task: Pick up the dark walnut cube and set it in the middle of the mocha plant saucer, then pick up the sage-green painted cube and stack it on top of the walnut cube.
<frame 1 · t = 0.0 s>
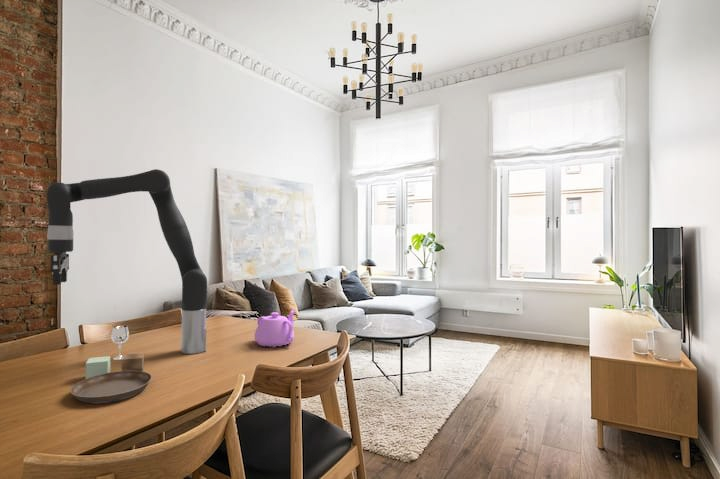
hand: (59, 283, 144), 29 cm above the table, tool pointing down, fingers open, 8 cm apart
plant saucer: (112, 393, 120), on the table
teapot: (278, 343, 178), on the table
wineglass: (119, 358, 152), on the table
walnut block: (132, 373, 136), on the table
green block: (98, 377, 132), on the table
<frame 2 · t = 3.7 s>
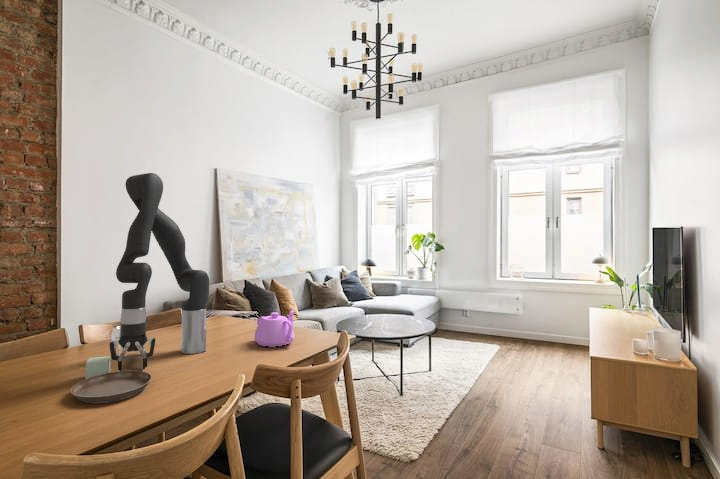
hand: (132, 370, 136), 1 cm above the table, tool pointing down, fingers closed on walnut block, 6 cm apart
walnut block: (132, 373, 136), on the table, touching gripper
everything else where it was.
when the fingers open (5 cm above the table, at t = 9.1 s): walnut block stays where it is, resting on plant saucer.
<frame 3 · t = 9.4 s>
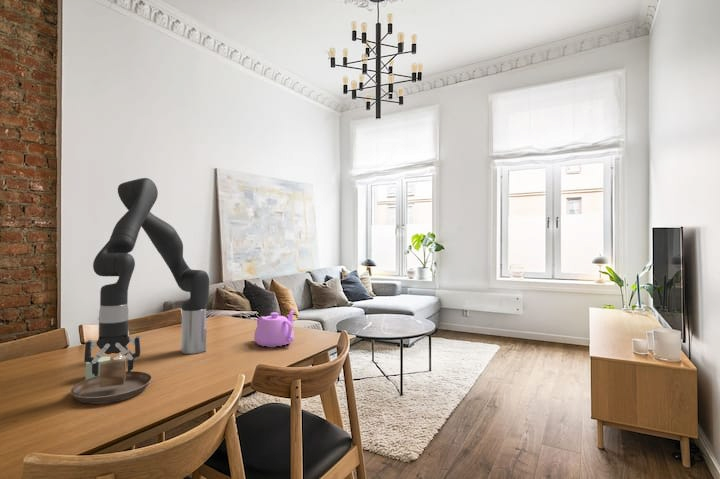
hand: (113, 373, 120), 6 cm above the table, tool pointing down, fingers open, 8 cm apart
plant saucer: (112, 394, 120), on the table, touching walnut block
walnut block: (113, 382, 120), point 3 cm above the table, touching plant saucer
everything else where it was.
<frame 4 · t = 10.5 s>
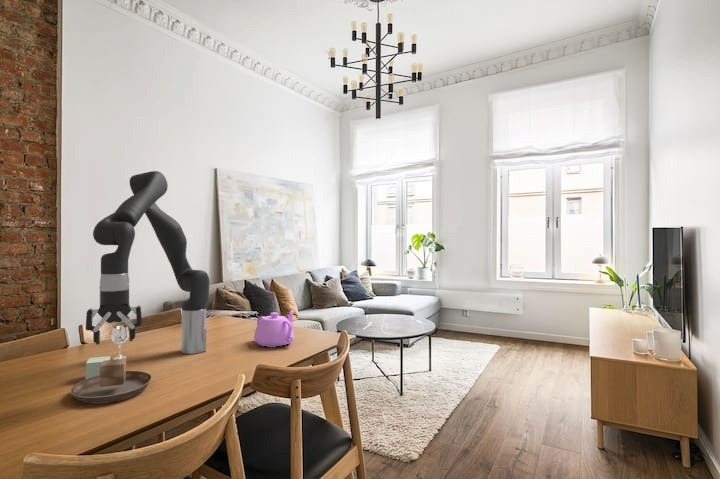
hand: (114, 342, 120), 15 cm above the table, tool pointing down, fingers open, 8 cm apart
nothing on the table moved.
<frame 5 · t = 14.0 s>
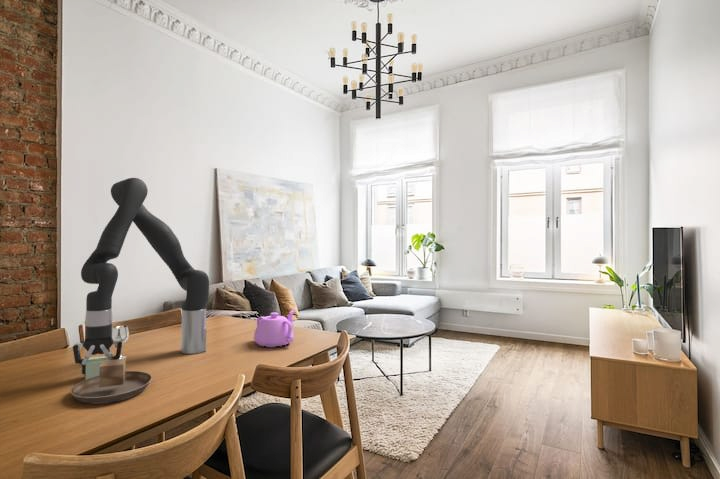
hand: (98, 373, 132), 1 cm above the table, tool pointing down, fingers closed on green block, 6 cm apart
green block: (98, 377, 132), on the table, touching gripper
everything else where it was.
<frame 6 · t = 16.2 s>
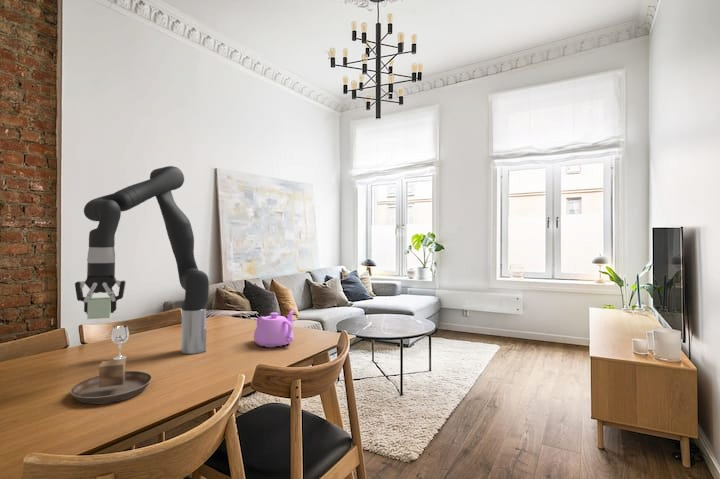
hand: (100, 312, 129), 22 cm above the table, tool pointing down, fingers closed on green block, 6 cm apart
green block: (100, 316, 129), point 21 cm above the table, touching gripper
everything else where it was.
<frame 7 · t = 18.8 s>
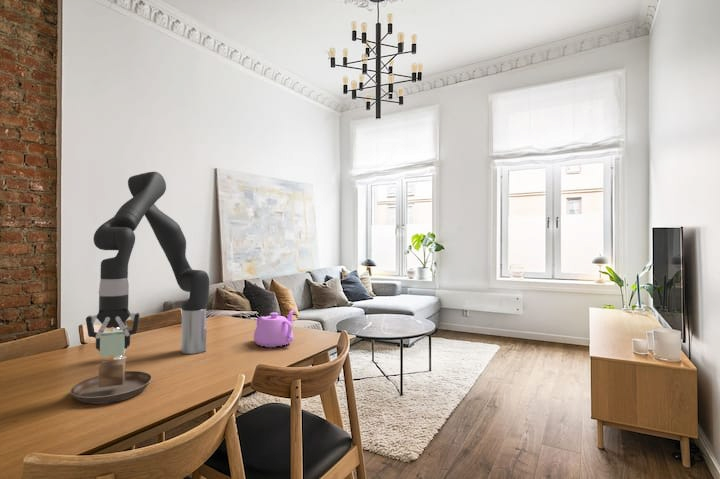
hand: (113, 349, 120), 13 cm above the table, tool pointing down, fingers closed on green block, 6 cm apart
green block: (113, 353, 120), point 12 cm above the table, touching gripper
everything else where it was.
when the fingers open (11 cm above the table, at t = 19.9 s): green block drops 1 cm, resting on walnut block.
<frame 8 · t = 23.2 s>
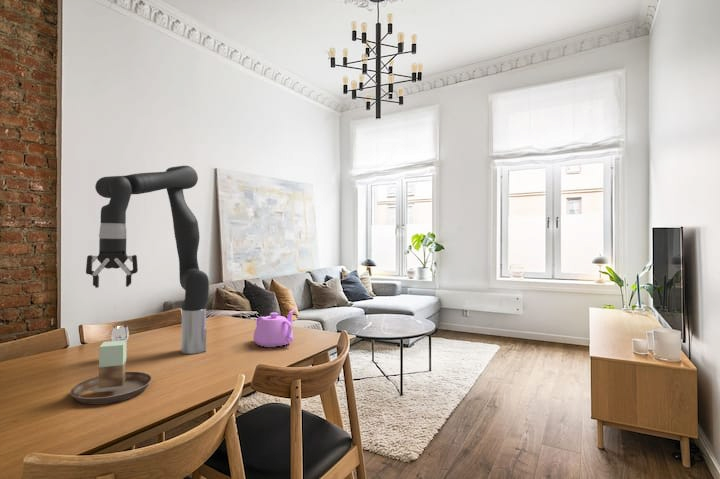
hand: (112, 286, 131), 30 cm above the table, tool pointing down, fingers open, 8 cm apart
walnut block: (112, 383, 119), point 3 cm above the table, touching green block, plant saucer
green block: (113, 363, 120), point 9 cm above the table, touching walnut block
everything else where it was.
at the end: walnut block 0.4 cm from the plant saucer (horizontally); green block 0.2 cm off-centre on the walnut block, point 6.0 cm above the walnut block's base; green block tilted 0° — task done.
